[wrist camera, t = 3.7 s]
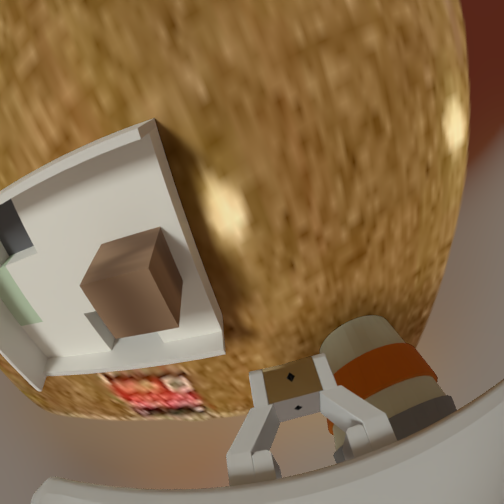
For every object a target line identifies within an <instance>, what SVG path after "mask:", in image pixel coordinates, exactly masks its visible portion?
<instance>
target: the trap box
mask: <svg viewBox="0 0 504 504" xmlns="http://www.w3.org/2000/svg"><path fill="white" fill-rule="evenodd" d="M157 227H161V230H162V232H163V235H164V237H165V239H166V242H167V244H168V247H169V249H170V252H171V254H172V256H173V259H174V261H175V264H176V266H177V268H178V271H179V273H180V275H181V277H182V280H183V287H182V298H181V309H180V322H179V328H174V329H169V330H163V331H158V332H153V333H147V334H142V335H136V336H130V337H124V338H118V339H115V337H114V336H113V335H112V333H111V332H110V331H109V329H108V328H107V326H106V325H105V324H104V322H103V321H102V319H101V318H100V316H99V315H98V313H97V312H96V311H95V309H94V308H93V306H92V305H91V303H90V301H89V300H88V298H87V297H86V295H85V294H84V292H83V291H82V289H81V287H80V286H79V285H80V283H81V281H82V279H83V277H84V275H85V274H86V272H87V270H88V268H89V266H90V264H91V262H92V260H93V258H94V256H95V255H96V253H97V251H98V249H99V247H100V246H101V244H103V243H106V242H110V241H113V240H116V239H119V238H123V237H126V236H129V235H133V234H136V233H139V232H143V231H146V230H150V229H153V228H157ZM0 353H1V355H2V356H3V357H4V358H5V359H6V360H7V361H8V362H9V363H10V364H11V365H12V366H13V367H14V368H15V369H16V370H17V371H18V372H19V373H20V374H21V375H22V376H23V377H24V378H25V379H26V380H27V381H28V382H29V383H30V384H31V385H32V386H33V387H34V388H35V389H36V390H37V391H42V388H43V385H44V382H45V379H46V376H58V375H76V374H90V373H101V372H112V371H121V370H130V369H138V368H146V367H153V366H160V365H167V364H173V363H179V362H186V361H191V360H197V359H203V358H208V357H213V356H218V355H223V354H226V353H225V341H224V329H223V316H222V313H221V310H220V308H219V305H218V303H217V300H216V297H215V295H214V292H213V290H212V287H211V284H210V282H209V279H208V276H207V274H206V271H205V269H204V266H203V263H202V260H201V258H200V255H199V252H198V250H197V247H196V244H195V241H194V238H193V236H192V233H191V230H190V227H189V224H188V221H187V219H186V216H185V213H184V210H183V207H182V204H181V201H180V198H179V195H178V192H177V189H176V186H175V183H174V180H173V177H172V174H171V171H170V168H169V165H168V161H167V158H166V155H165V152H164V149H163V145H162V142H161V139H160V136H159V132H158V129H157V126H156V122H155V119H154V118H153V119H150V120H147V121H144V122H142V123H139V124H136V125H133V126H131V127H128V128H125V129H123V130H120V131H118V132H115V133H113V134H110V135H108V136H105V137H103V138H101V139H98V140H96V141H94V142H91V143H89V144H87V145H85V146H82V147H80V148H78V149H76V150H74V151H72V152H70V153H67V154H65V155H63V156H61V157H59V158H57V159H55V160H53V161H52V162H50V163H48V164H46V165H44V166H42V167H40V168H38V169H37V170H35V171H33V172H31V173H29V174H28V175H26V176H24V177H22V178H21V179H19V180H17V181H16V182H14V183H12V184H11V185H9V186H8V187H6V188H4V189H3V190H1V191H0Z"/></svg>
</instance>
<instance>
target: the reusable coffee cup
mask: <svg viewBox="0 0 504 504" xmlns="http://www.w3.org/2000/svg"><path fill="white" fill-rule="evenodd" d="M320 353H324V354H325V355H326V358H327V360H328V363H329V365H330V368H331V370H332V373H333V375H334V378H335V381H336V383H337V386H339V385H342V386H344V387H345V388H347V389H348V390H350V391H351V392H353V393H354V394H356V395H357V396H359V397H360V398H362V399H363V400H365V401H367V402H368V403H370V404H371V405H373V406H375V407H376V408H378V409H379V410H381V411H382V412H384V413H386V416H387V418H388V420H389V422H390V425H391V427H392V429H393V432H394V434H395V436H396V439H397V441H399V440H401V439H403V438H405V437H408V436H410V435H412V434H414V433H416V432H418V431H420V430H422V429H424V428H426V427H428V426H430V425H432V424H434V423H436V422H437V421H439V420H441V419H443V418H445V417H446V416H448V415H450V414H452V413H453V412H455V411H457V410H456V407H455V405H454V402H453V399H452V397H451V396H448V395H446V394H445V393H444V392H443V390H442V389H441V388H440V387H439V385H438V384H437V379H438V378H437V376H436V374H435V373H434V371H433V370H432V369H431V368H430V366H429V365H428V364H427V363H426V361H425V360H424V359H423V358H422V356H421V355H420V354H419V353H418V352H417V350H416V349H415V348H414V347H413V346H412V345H410V344H407V343H405V342H404V341H403V339H402V338H401V337H400V336H399V334H398V333H397V332H396V331H395V330H394V328H393V327H392V326H391V325H390V324H389V322H388V321H387V320H386V319H385V318H383V317H381V316H377V315H369V316H363V317H359V318H356V319H353V320H351V321H348V322H347V323H345V324H343V325H341V326H340V327H338V328H337V329H335V330H334V331H333V332H332V333H331V334H330V335H329V336H328V337H327V338H326V339H325V340H324V342H323V344H322V345H321V348H320ZM327 423H328V430H329V432H330V433H331V434H332V435H334V441H335V448H336V452H335V453H334V458H335V461H336V463H337V464H338V463H341V462H344V461H346V460H345V457H344V454H343V451H342V449H343V444H344V440H345V435H346V433H345V432H344V431H342V430H341V429H340V428H339V427H338V426H336V425H335V424H334V423H333V422H331V421H330V420H329V419H328V418H327Z"/></svg>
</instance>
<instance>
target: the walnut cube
mask: <svg viewBox="0 0 504 504" xmlns="http://www.w3.org/2000/svg"><path fill="white" fill-rule="evenodd" d="M79 286H80V287H81V289H82V291H83V292H84V294H85V295H86V297H87V298H88V300H89V301H90V303H91V305H92V306H93V308H94V309H95V311H96V312H97V313H98V315H99V316H100V318H101V319H102V321H103V322H104V324H105V325H106V326H107V328H108V329H109V331H110V332H111V333H112V335H113V336H114V337H115V339H118V338H124V337H130V336H136V335H142V334H147V333H153V332H158V331H163V330H169V329H174V328H179V322H180V309H181V298H182V287H183V280H182V277H181V275H180V273H179V271H178V268H177V266H176V264H175V261H174V259H173V256H172V254H171V252H170V249H169V247H168V244H167V242H166V239H165V237H164V235H163V232H162V230H161V227H157V228H153V229H150V230H146V231H143V232H139V233H136V234H133V235H129V236H126V237H123V238H119V239H116V240H113V241H110V242H106V243H103V244H101V246H100V247H99V249H98V251H97V253H96V255H95V256H94V258H93V260H92V262H91V264H90V266H89V268H88V270H87V272H86V274H85V275H84V277H83V279H82V281H81V283H80V285H79Z"/></svg>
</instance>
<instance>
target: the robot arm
mask: <svg viewBox="0 0 504 504" xmlns="http://www.w3.org/2000/svg"><path fill="white" fill-rule="evenodd" d="M249 379H250V385H251V391H252V397H253V403H254V408H251V409H250V411H249V413H248V415H247V417H246V419H245V421H244V423H243V425H242V427H241V428H240V431H239V432H238V434H237V436H236V438H235V440H234V442H233V444H232V446H231V447H230V449H229V451H228V453H227V455H226V458H227V467H228V476H229V485H230V486H226V487H216V488H201V489H172V490H171V489H139V488H125V487H115V486H106V485H99V484H91V483H86V482H80V481H74V480H69V479H65V478H60V477H50V478H48V479H47V480H46V481H45V482H44V483H43V484H42V485H41V486H40V487H39V489H38V490H37V491H36V492H35V494H34V495H33V497H32V500H31V503H30V504H504V379H503V380H501V381H500V382H499V383H497V384H496V385H495V386H493V387H492V388H490V389H489V390H488V391H486V392H485V393H483V394H482V395H480V396H479V397H477V398H476V399H474V400H473V401H472V402H470V403H468V404H467V405H465V406H463V407H462V408H460V409H458V410H457V411H455V412H453V413H452V414H450V415H448V416H446V417H445V418H443V419H441V420H439V421H437V422H436V423H434V424H432V425H430V426H428V427H426V428H424V429H422V430H420V431H418V432H416V433H414V434H412V435H410V436H408V437H405V438H403V439H401V440H399V441H397V439H396V436H395V434H394V432H393V429H392V427H391V425H390V422H389V420H388V418H387V416H386V413H384V412H382V411H381V410H379V409H378V408H376V407H375V406H373V405H371V404H370V403H368V402H367V401H365V400H363V399H362V398H360V397H359V396H357V395H356V394H354V393H353V392H351V391H350V390H348V389H347V388H345V387H344V386H342V385H339V386H337V383H336V381H335V378H334V375H333V373H332V370H331V368H330V365H329V363H328V360H327V358H326V355H325V354H324V353H320V354H317V355H314V356H309V357H306V358H303V359H299V360H296V361H292V362H288V363H286V364H282V365H278V366H273V367H269V368H265V369H260V370H255V371H251V372H249ZM317 412H321V413H322V414H323V415H324V416H325V417H327V418H328V419H329V420H330V421H331V422H333V423H334V424H335V425H336V426H338V427H339V428H340V429H341V430H342V431H344V432H345V433H346V435H345V440H344V444H343V449H342V451H343V454H344V457H345V460H346V461H344V462H341V463H338V464H335V465H331V466H328V467H325V468H321V469H317V470H314V471H310V472H306V473H302V474H298V475H293V476H289V477H285V478H282V476H281V471H280V467H279V465H278V464H277V462H276V460H275V458H274V457H273V455H272V453H271V452H270V451H269V450H270V448H271V445H272V443H273V440H274V438H275V435H276V433H277V430H278V427H279V425H280V422H283V421H287V420H291V419H294V418H298V417H302V416H306V415H310V414H314V413H317Z"/></svg>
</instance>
